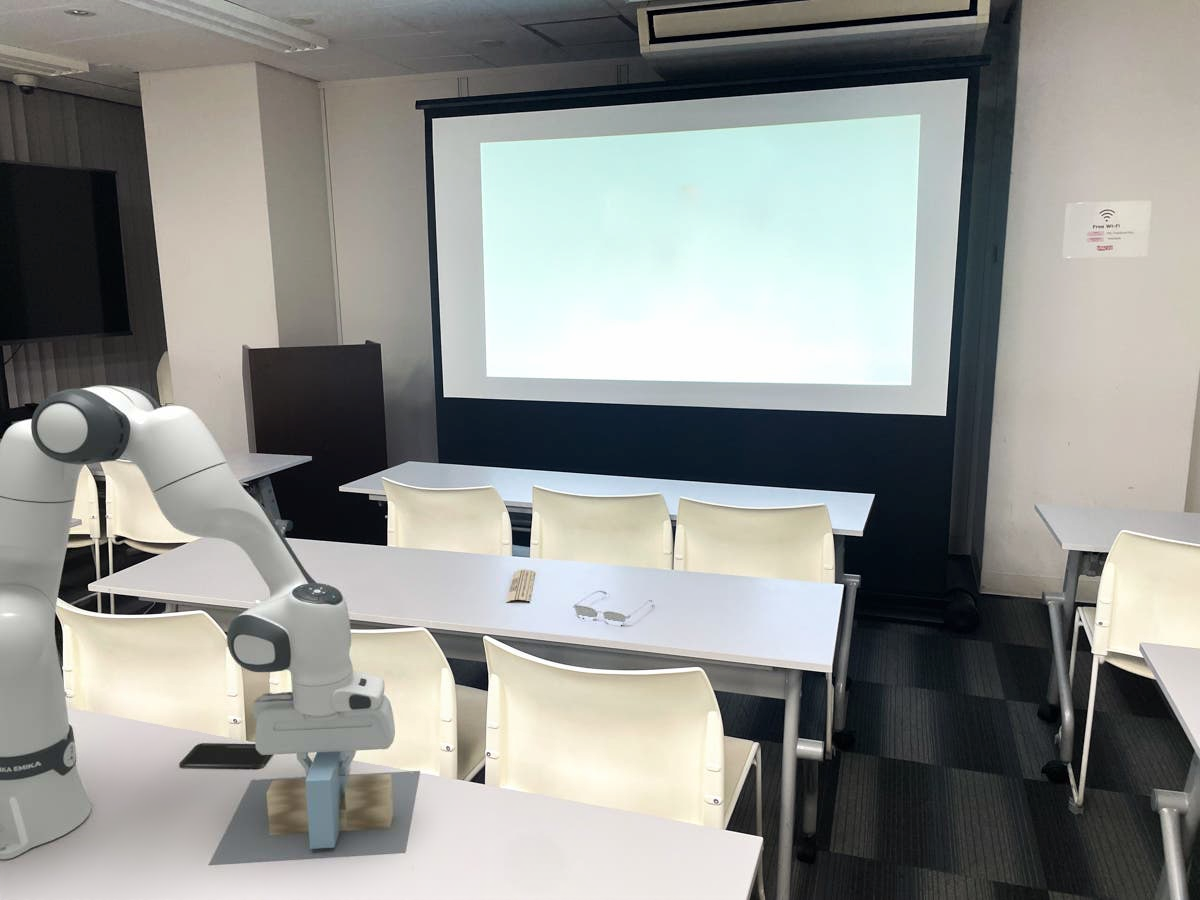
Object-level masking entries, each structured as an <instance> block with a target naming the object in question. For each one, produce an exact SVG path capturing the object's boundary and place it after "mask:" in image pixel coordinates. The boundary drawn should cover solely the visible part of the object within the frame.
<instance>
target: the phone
mask: <svg viewBox="0 0 1200 900" xmlns="http://www.w3.org/2000/svg"><path fill="white" fill-rule="evenodd" d="M273 756H274V755H261V754H260V753H259V752H258V751H257V750H256V745H255V743H226V742H225V743H224V742H222V743H219V742H218V743H217V742H214V743H213V742H202V743H197V744H196V745H195V746H194V747H193V748H192V749H191V750H189V753H187V755H186V756H185V757H184V758H183V759H182V760H181V761H179V763H178V765H179V768H180V769H198V770H208V769H209V770H261V769H264V768H265V767H266V766H267V764H268V763H269V762H270V761H271V759H272V758H273Z"/></svg>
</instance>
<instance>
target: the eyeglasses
mask: <svg viewBox="0 0 1200 900" xmlns="http://www.w3.org/2000/svg"><path fill="white" fill-rule="evenodd" d="M596 593H602V594H604V595H605V594H607V593H608V592H606V591H604V590H596V591H594V592H593V593H591V594H589V595H587V596H586V597H585V598H583V599H582V600H580V601H579V602H577V603H575V604H573V606H572V608H574V609H575V613H576V614H577V616H578V615H582V616H588V617H595V618H596V617H597V616H598V613H601V614H603V618H604V620H605V619H608V620H613V621H619V622H620V621H621V622H624V623H625V621H626V620H627V619H629V618H631V616H632V615H634V614H635V613H637V611H639V610H640V609H641V608H642V607H643V606H645V605H647V604H648V602H652V601H653V600H652V599H648V600H647V601H645V603H644V604H643V605H642V606H640V607H639V608H638V609H637V610H635V611H633V613H631V614H628V615H625V614H623V613H620V612H618V611H617V612H615V611H611V610H609V611H608V610H607V611H600V610H597V609H594V608H592V607H590V606H587V605H581V604H580V603H581V602H583V601H584V600H585V599H587V598H588V597H590V596H592V595H594V594H596Z"/></svg>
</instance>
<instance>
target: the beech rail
mask: <svg viewBox="0 0 1200 900" xmlns="http://www.w3.org/2000/svg"><path fill="white" fill-rule="evenodd" d="M305 781H306V779H292V780H273V781H272V783H271V785H270V787H269V789H268V791H267V793H266V795H267V807H268V819H269V831H270V835H281V834H298V833H309V825H308V811H307V797H306V783H305ZM339 817H340V831H348V830H365V829H381V828H390V827H391V823H392V818H393V799H392V780H391V774H384V775H366V776H349V777H348V780H347V783H346V786H345V797H342V800H341V803H340V806H339Z"/></svg>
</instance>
